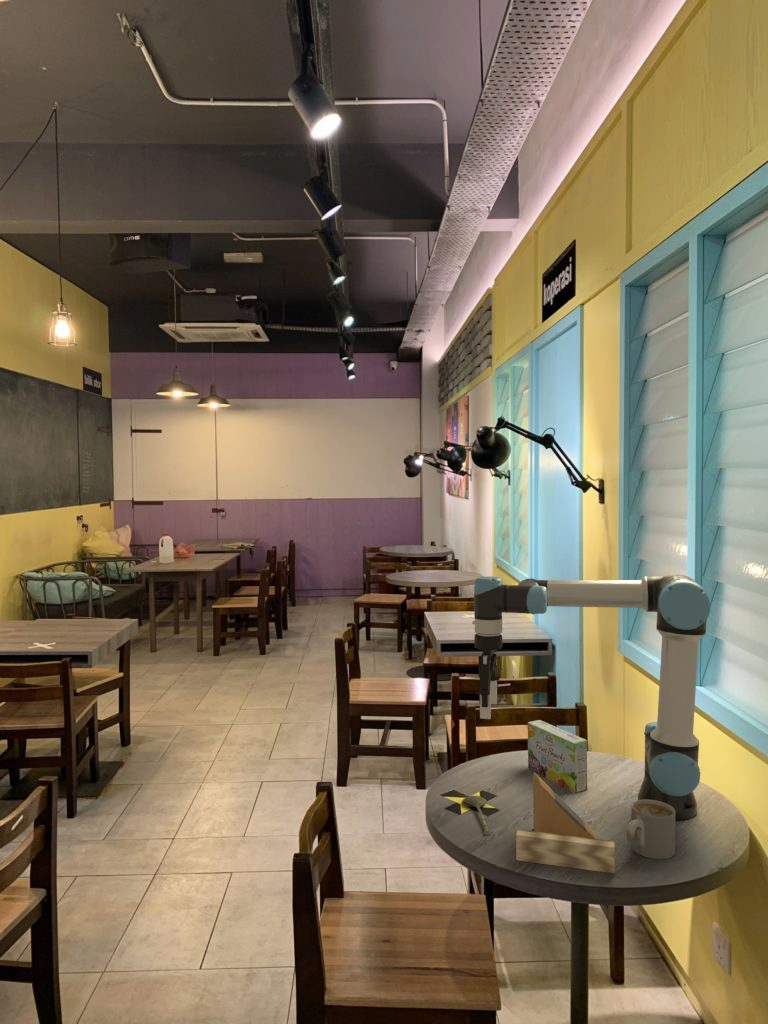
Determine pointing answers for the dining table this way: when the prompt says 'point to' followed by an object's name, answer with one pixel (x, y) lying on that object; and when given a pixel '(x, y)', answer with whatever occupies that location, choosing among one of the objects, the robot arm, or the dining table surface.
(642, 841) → the coffee mug
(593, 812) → the dining table surface
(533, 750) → the snack box
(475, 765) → the dining table surface
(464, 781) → the dining table surface
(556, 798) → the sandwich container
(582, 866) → the birch board
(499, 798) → the dining table surface
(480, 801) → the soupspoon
